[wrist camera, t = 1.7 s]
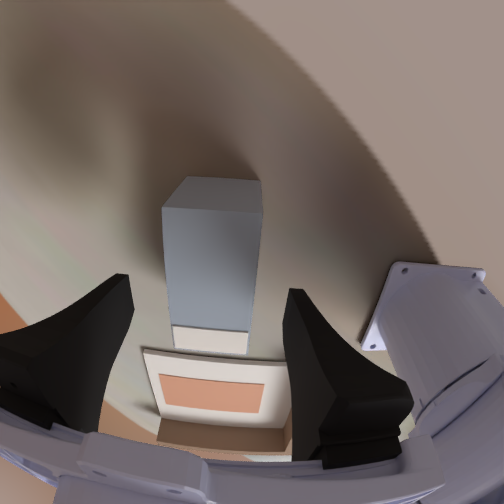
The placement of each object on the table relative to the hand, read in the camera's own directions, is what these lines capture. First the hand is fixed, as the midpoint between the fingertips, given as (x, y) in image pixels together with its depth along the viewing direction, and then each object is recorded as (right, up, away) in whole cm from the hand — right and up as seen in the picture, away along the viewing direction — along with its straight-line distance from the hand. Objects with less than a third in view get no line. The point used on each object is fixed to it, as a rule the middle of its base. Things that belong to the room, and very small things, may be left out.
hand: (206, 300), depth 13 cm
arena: (0, -11, +12) cm, 17 cm away
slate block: (0, +3, +5) cm, 6 cm away
